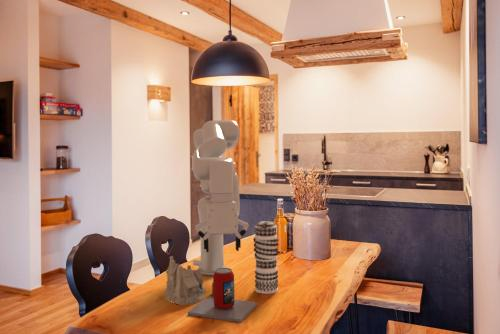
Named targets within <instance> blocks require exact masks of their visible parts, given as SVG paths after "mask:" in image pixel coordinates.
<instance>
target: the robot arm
mask: <svg viewBox="0 0 500 334" xmlns="http://www.w3.org/2000/svg"><path fill="white" fill-rule="evenodd" d="M240 133H241V130H240V126H239V124H238V123H237V121H236V120H233V119H231V120H228V119H227V120H222V119H221V120H220V119H219V120H208V121H206V122H204V123H203V125H202V127H201V128H199V129H196V130H195V131H194V132H193V133H192V134H193V135H192V136H193V139H192V140H193V145H194V151H193V154H192V158H191V162H192V173H193V176H194V177H195V179H197V180H198V181H200V189H201V191H202V192H203V193H205V194H204V197H202V198H200V199H199V200H198V202H197V212H198V218H199V223H197V224H196V225H194V229H195V231H196V232H197V234H198V235H199V237H200V260H199V259H194V260H192V265H193V266H195V267H196V266H197V267H198V268H197V269H196V270H199V271H200V272H201V274H202V276H203V275H204V276H213V275H214V273H215V270H216V269H219V268H228V267H227V266H226V265H225V264H224V256H225V255H224V235H235V250H236V252H239V249H240V248H241V247H242V245H241V244H242V243H241V239H242V237H243V236H244V235H245V234H246V233H247V230H248V229H249V226H250V224H249V223H248V222H245V221H244V220H241V219H239V216H240V209H241V208H240V207H241V205H240V180H239V176H238V173H237V172H236V170H237V165H236V162H235V161H234V159H233V158H231V157H224V156H223V155H224V154H225V152H226V151H227V150H230V149H231V150H232V149H234V148H235V147H236V146H237V144H238V142H239V141H240V138H241V137H240V136H241V134H240ZM222 156H223V157H222ZM239 225H240V226H242V227H243V228H242V229H241V230H240V231H239Z"/></svg>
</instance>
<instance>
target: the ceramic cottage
mask: <svg viewBox="0 0 500 334" xmlns="http://www.w3.org/2000/svg"><path fill="white" fill-rule="evenodd" d="M165 272H166V277H167V281H166V282H165V283H166V285H165V286H166V288H165V289H166V290H165V294H164V300H165V299H167V300H170V301H172V302H174V303H176V304H179V305H178V306H180V305H188V306H190V305H189V304H193V305H195V304H194V303H196V304H198V303H200V302H202V301H203V298H204V296H205V295H206V289H205V288H204V286H203V283H204V281H203V279H204V276H203V275H202V274H201V272H200V271H199V270H197V269H196V270H193V268H192V265H191V264H190V265H189V264H187V267H186V268H185V267H184V266H183V265H180V264H179V263H176V260H175V259H174V256H173V255H170V256H169V264H168V267H167V269H166V270H165ZM167 300H166V301H167ZM170 301H169V302H170ZM199 301H200V302H199ZM172 302H171V303H172ZM197 302H198V303H197ZM174 303H173V304H174ZM176 304H175V305H176Z"/></svg>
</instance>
